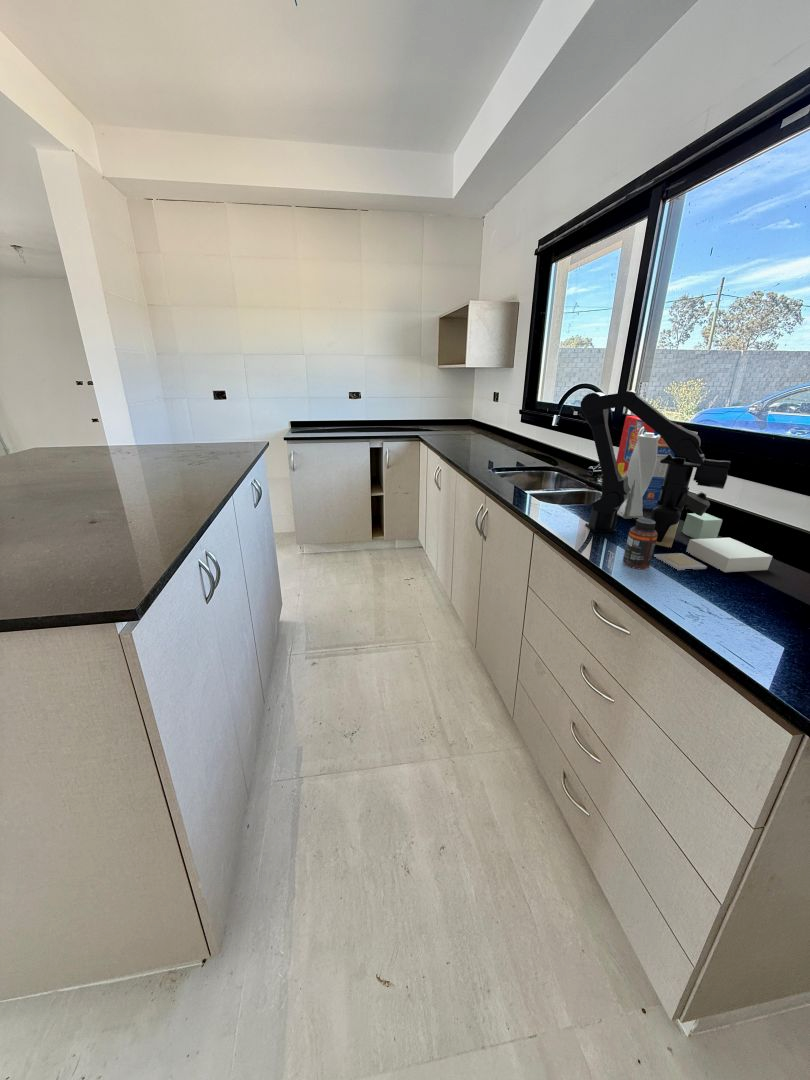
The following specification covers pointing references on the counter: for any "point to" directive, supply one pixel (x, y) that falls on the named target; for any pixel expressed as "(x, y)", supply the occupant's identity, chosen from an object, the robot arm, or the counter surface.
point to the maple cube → (669, 536)
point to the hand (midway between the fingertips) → (660, 537)
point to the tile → (680, 561)
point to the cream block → (729, 554)
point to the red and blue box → (625, 453)
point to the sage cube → (701, 526)
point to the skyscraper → (640, 474)
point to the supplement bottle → (640, 544)
